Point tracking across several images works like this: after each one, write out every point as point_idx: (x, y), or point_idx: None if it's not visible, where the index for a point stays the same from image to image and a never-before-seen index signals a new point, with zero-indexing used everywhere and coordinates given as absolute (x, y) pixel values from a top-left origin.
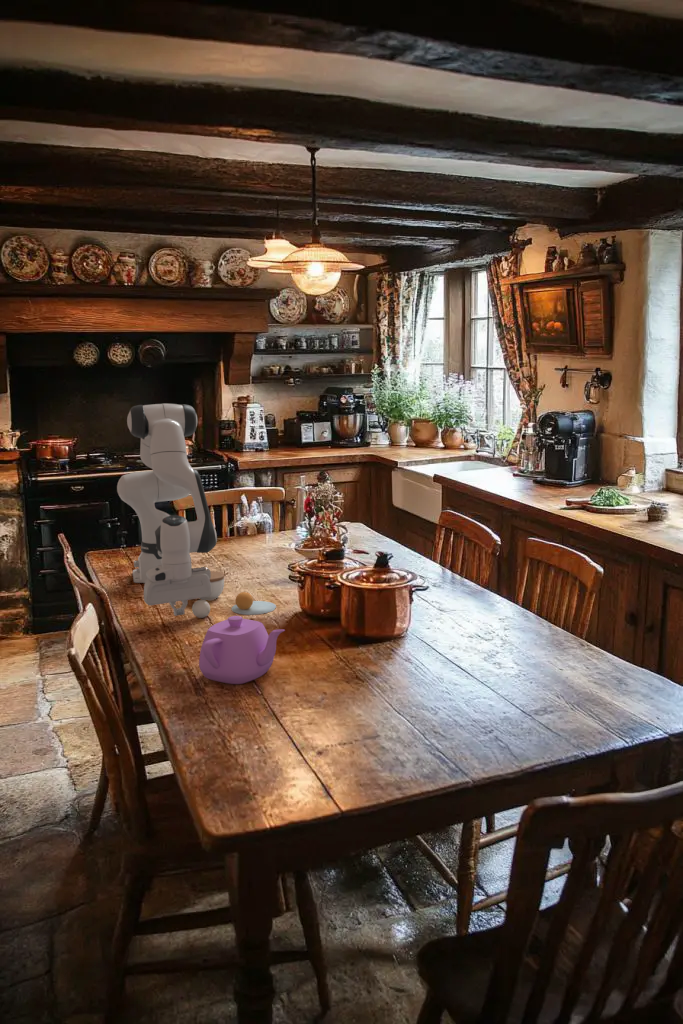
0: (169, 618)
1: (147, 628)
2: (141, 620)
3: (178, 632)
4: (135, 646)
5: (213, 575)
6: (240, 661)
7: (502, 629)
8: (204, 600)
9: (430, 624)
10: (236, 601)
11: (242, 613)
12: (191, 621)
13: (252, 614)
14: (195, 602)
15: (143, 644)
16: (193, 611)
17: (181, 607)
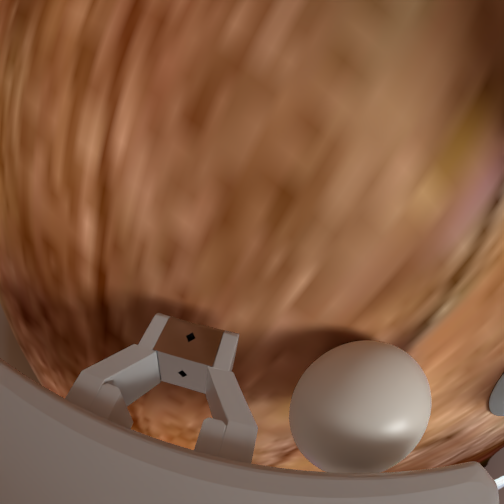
0: (153, 230)
1: (38, 295)
2: (8, 154)
3: (153, 406)
4: (38, 378)
5: None
6: None
7: (498, 486)
8: (390, 467)
9: (500, 478)
10: None
11: (493, 398)
12: (263, 368)
13: (493, 413)
14: (321, 457)
15: (53, 384)
16: (290, 405)
17: (208, 381)
